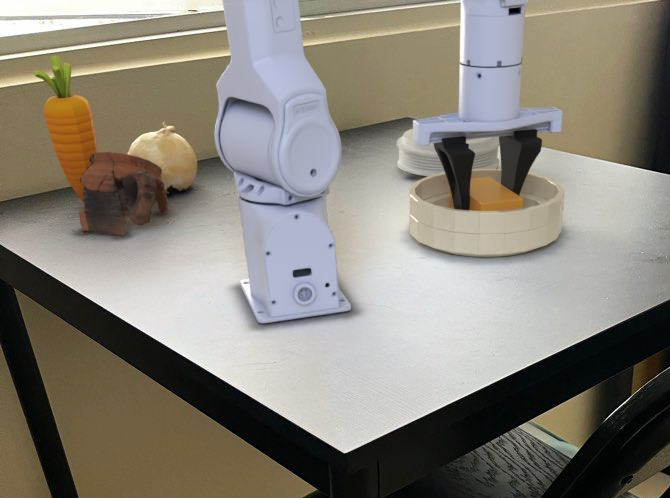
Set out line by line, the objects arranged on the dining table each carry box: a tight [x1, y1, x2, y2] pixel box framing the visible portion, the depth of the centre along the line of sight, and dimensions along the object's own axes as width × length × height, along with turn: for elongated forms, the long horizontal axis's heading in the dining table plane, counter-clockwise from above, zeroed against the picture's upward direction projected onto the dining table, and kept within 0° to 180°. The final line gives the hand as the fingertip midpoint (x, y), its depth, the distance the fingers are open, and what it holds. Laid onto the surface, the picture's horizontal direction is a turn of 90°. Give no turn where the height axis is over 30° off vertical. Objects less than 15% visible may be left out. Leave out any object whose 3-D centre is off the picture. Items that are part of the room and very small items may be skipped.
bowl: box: [408, 168, 566, 258], centre depth 87 cm, size 15×15×4 cm
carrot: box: [34, 55, 99, 203], centre depth 95 cm, size 5×5×15 cm
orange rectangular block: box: [450, 177, 523, 211], centre depth 87 cm, size 8×4×4 cm, turn 18°
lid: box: [396, 128, 501, 177], centre depth 107 cm, size 13×13×5 cm
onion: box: [127, 121, 198, 196], centre depth 102 cm, size 8×8×7 cm
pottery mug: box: [78, 151, 169, 236], centre depth 92 cm, size 12×10×8 cm
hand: (485, 214), depth 88 cm, fingers closed on orange rectangular block, 4 cm apart
